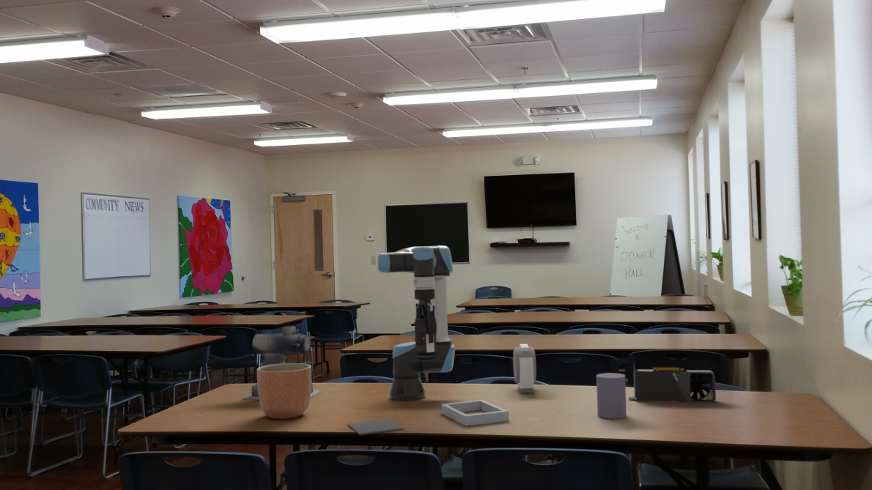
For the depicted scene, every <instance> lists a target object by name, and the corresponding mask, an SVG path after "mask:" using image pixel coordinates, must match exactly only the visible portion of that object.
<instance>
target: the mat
mask: <svg viewBox="0 0 872 490" xmlns="http://www.w3.org/2000/svg"><path fill="white" fill-rule="evenodd" d="M347 426H348V427H349V428H350V429H352V431H354V432H356V433H357V434H358V435H359V436H363V435H371V434H377V433H378V434H379V433H380V434H381V433H387V432H394V431H403V430H404V427H403V426H401V425H400V424H398V423H396V422H395V421H394V420H392V419H391V418H386V419H379V420H378V419H377V420H369V421H368V420H367V421H360V422H351V423H347Z"/></svg>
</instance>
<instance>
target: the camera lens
mask: <svg viewBox="0 0 872 490" xmlns="http://www.w3.org/2000/svg"><path fill="white" fill-rule="evenodd" d="M414 320H415V321H414V334H415V335H414V336H415V337H414V342H415V350H416V355H417V360H421V361H428V360H434V359H435V357H436V352H437V344H436V333H437V323H436V332H435V333H434V352H427V347H426V334H425V333H426V332H427V329H426V320H425V319H424V318H423V319H420V318H416V317H415V319H414ZM435 322H436V319H435Z"/></svg>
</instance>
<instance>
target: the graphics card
mask: <svg viewBox="0 0 872 490" xmlns="http://www.w3.org/2000/svg"><path fill="white" fill-rule="evenodd" d="M633 383H634V384H633V386H634V387H633V389H634V396H631V397H630V396H629V397H628V400H629V401H630V400H635V399H636V401H638V402H656V401H677V402H676V403H715V401H716V399H717V395H716V392H717V391H716V375H715V373H714V372H713V371H712V370H709V369H708V370H705V369H703V370H702V369H701V370H700V369H698V370H697V369H695V370H693V369H692V370H690V369H686V370H685V368H680V367H652V369H636V367H635V363H633Z"/></svg>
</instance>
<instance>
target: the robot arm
mask: <svg viewBox="0 0 872 490" xmlns="http://www.w3.org/2000/svg"><path fill="white" fill-rule="evenodd" d="M453 268H454V267H453V260H452V254H451V250H450V248H449V247H448V246H446V245H431V246H430V245H428V246H425V245H424V246H411V247H407V248H402V249H399V250H398V251H395V252H382V253H381V252H380V253H379V254H378V256H377V269H378V271H379V272H380V273H385V274H388V273H409V274H413V280H412V283H414V299H415V300H416V301H417V300H418V302H416V303H415V319H416V318H420V319H423V318H424V319H425V320H426V329H427V332H426V333H425V334H426V347H427V352H434V333H435V332H436V323H437V333H436V344H437V352H436V357H435V359H434V360H428V361H421V360H417V355H416V350H415V341H410V342H409V341H408V342H404V343H399V344H396V345H394V346H393V348H392V357H391V358H392V377H393V380H392V384H391V387H390V391H389V399H391V400H394V401H417V400H421V399H423V398H425V397H426V391H425V388H424V385H423V383H422V380H421V373H423V374H424V373H449V372H451V371H452V370H453V367H454V362H455V361H454V360H455V353H456V352H455V351H456V346H455V344H453V343H452V339H451V338H450V336H449V334H448V333H449V332H448V330H449V328H448V294H447V280H449V279H450V276H451V274H452V273H453V272H454V269H453ZM435 319H436V322H435Z"/></svg>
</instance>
